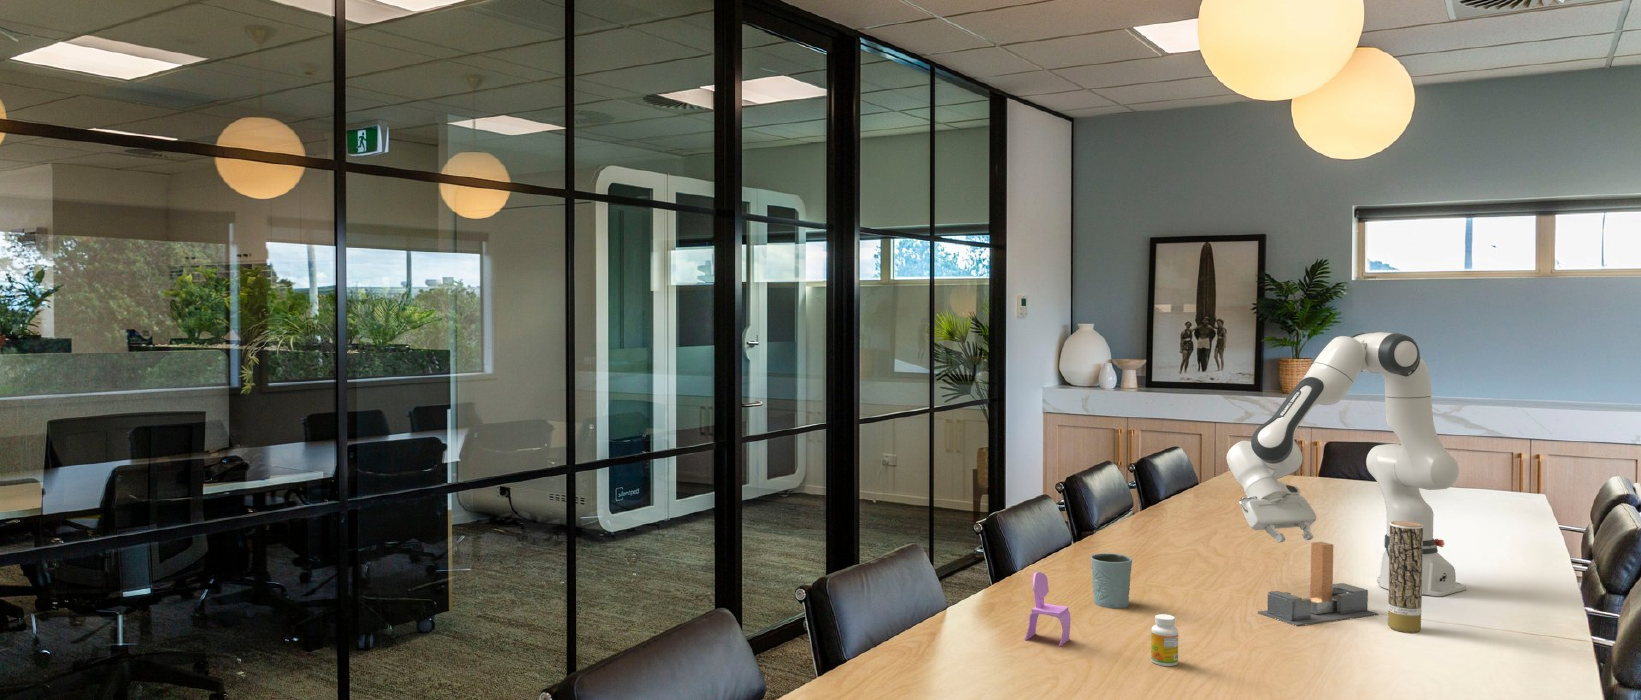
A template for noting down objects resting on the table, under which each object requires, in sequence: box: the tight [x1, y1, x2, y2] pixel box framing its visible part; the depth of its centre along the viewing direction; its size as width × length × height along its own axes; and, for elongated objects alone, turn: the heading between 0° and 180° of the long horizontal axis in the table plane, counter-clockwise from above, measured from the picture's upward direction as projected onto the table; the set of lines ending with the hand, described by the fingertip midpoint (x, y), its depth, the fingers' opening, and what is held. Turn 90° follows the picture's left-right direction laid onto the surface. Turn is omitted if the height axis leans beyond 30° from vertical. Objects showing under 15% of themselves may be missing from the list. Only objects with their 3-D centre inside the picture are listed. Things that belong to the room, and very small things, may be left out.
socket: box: [1267, 590, 1311, 622], centre depth 251 cm, size 6×7×5 cm
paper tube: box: [1387, 521, 1423, 634], centre depth 242 cm, size 7×7×25 cm
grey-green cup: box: [1090, 552, 1133, 609], centre depth 263 cm, size 10×10×12 cm
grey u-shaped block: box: [1332, 582, 1369, 615], centre depth 258 cm, size 9×7×5 cm
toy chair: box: [1024, 571, 1071, 648], centre depth 232 cm, size 8×9×15 cm
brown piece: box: [1309, 541, 1337, 614], centre depth 256 cm, size 15×4×17 cm, turn 112°
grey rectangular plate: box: [1257, 609, 1379, 627], centre depth 255 cm, size 27×12×1 cm, turn 112°
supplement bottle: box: [1150, 613, 1179, 667], centre depth 217 cm, size 5×5×10 cm
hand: (1296, 540), depth 262 cm, fingers open, 8 cm apart
